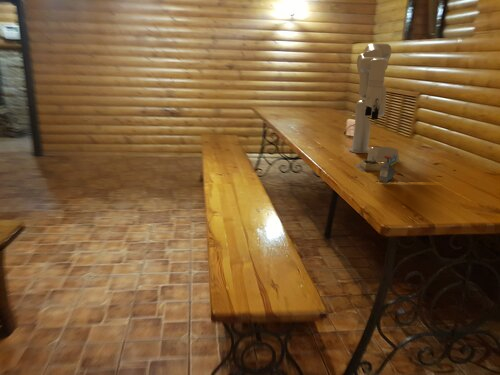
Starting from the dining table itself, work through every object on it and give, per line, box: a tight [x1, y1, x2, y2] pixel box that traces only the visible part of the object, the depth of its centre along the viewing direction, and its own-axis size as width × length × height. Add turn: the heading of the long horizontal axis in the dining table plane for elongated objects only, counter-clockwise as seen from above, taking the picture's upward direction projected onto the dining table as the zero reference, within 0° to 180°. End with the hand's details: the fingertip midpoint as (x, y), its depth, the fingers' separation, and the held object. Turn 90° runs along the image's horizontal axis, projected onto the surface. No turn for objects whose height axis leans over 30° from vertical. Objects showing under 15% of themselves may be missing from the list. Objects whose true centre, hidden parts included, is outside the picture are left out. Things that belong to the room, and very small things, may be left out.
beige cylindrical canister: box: [366, 146, 378, 164], centre depth 195 cm, size 4×4×11 cm
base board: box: [353, 163, 397, 173], centre depth 198 cm, size 14×18×1 cm
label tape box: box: [378, 155, 397, 184], centre depth 180 cm, size 9×4×12 cm, turn 141°
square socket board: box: [359, 155, 393, 171], centre depth 196 cm, size 8×16×7 cm, turn 93°
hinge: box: [376, 146, 401, 163], centre depth 214 cm, size 17×5×10 cm, turn 91°
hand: (371, 117), depth 201 cm, fingers open, 9 cm apart
